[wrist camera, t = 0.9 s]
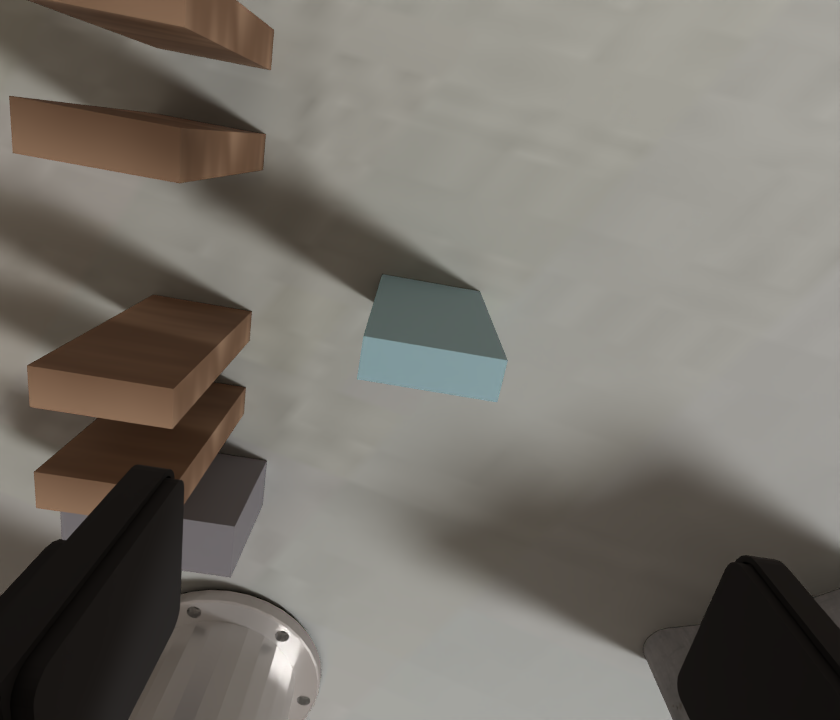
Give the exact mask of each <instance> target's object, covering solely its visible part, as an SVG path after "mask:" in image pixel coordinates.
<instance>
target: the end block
mask: <svg viewBox="0 0 840 720" xmlns="http://www.w3.org/2000/svg"><path fill="white" fill-rule="evenodd" d="M266 464H267V461H265V460H258V459H252V458H245V457H239V456H233V455H226V454H220V453H218V454H217V455H216V457H215V458H214V460H213V461H212V463H211V464H210V466H209V467H208V469H207V470H206V472H205V473H204V475H203V477H202V478H201V480H200V481H199V483H198V484H197V486H196V487H195V489H194V490H193V492H192V493H191V495H190V496H189V498H188V499H187V501H186V502H185V504H184V514H183V542H182V571H189V572H196V573H203V574H210V575H217V576H224V577H231V576H232V573H233V571H234V569H235V567H236V564H237V562H238V560H239V557H240V555H241V553H242V551H243V548H244V546H245V544H246V542H247V539H248V537H249V535H250V532H251V530H252V528H253V526H254V523H255V521H256V519H257V517H258V514H259V512H260V510H261V507H262V505H263V495H264V485H265V474H266ZM60 512H61V511H60ZM87 516H88V515H82V514H75V513H68V512H61V534H62V540H67V539H68V538H69V537H70V535H71V534H72V533H73V532H74V531H75V530H76V529H77V528H78V526H79V525H80V524H81V523H82V522H83V521H84V520H85V519H86V518H87Z"/></svg>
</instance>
